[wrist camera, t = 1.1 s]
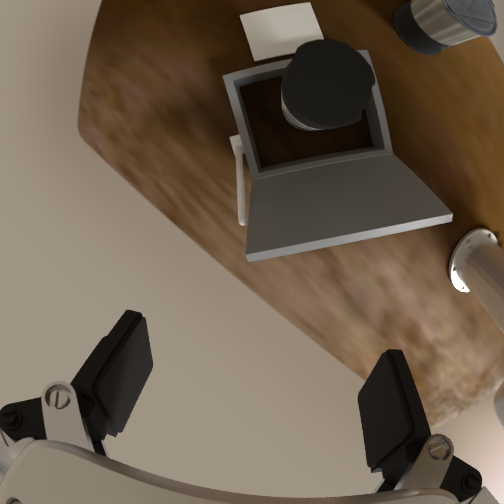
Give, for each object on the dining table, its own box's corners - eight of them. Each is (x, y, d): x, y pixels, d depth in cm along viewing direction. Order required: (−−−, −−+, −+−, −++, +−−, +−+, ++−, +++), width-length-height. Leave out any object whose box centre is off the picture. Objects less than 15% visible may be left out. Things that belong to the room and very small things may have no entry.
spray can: (274, 119, 34) (264, 106, 16) (292, 76, 31) (301, 23, 13) (319, 138, 34) (358, 147, 16) (338, 96, 32) (392, 66, 14)
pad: (309, 3, 26) (309, 2, 25) (326, 48, 29) (326, 47, 28) (240, 16, 28) (239, 15, 27) (254, 62, 31) (254, 61, 30)
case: (357, 58, 29) (412, 12, 12) (384, 179, 36) (452, 222, 19) (221, 85, 33) (168, 51, 16) (254, 205, 39) (232, 266, 23)
